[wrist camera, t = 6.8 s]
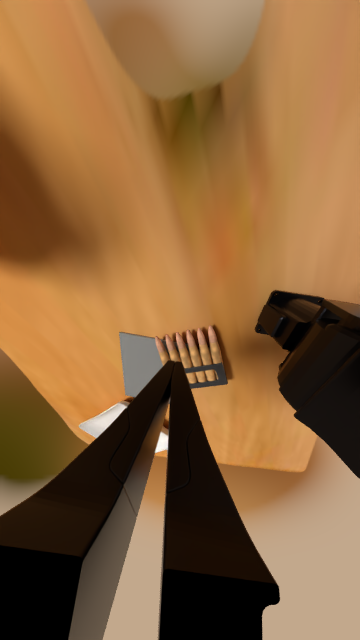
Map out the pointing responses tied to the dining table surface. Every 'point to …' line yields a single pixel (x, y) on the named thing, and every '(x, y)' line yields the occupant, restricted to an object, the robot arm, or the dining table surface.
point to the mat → (140, 361)
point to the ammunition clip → (196, 358)
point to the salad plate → (107, 417)
